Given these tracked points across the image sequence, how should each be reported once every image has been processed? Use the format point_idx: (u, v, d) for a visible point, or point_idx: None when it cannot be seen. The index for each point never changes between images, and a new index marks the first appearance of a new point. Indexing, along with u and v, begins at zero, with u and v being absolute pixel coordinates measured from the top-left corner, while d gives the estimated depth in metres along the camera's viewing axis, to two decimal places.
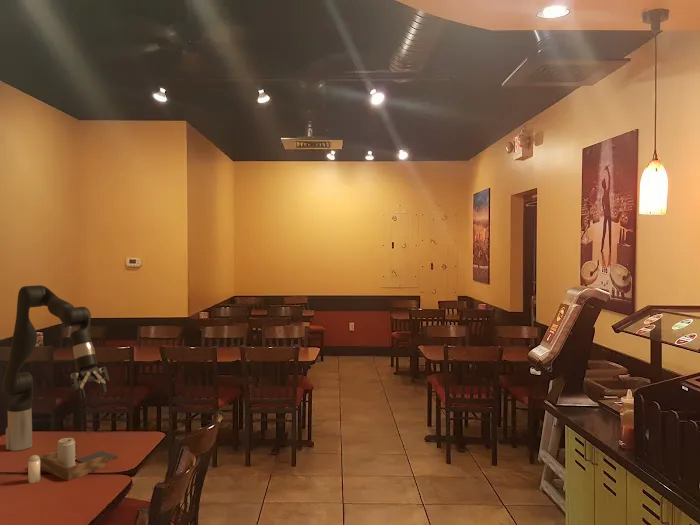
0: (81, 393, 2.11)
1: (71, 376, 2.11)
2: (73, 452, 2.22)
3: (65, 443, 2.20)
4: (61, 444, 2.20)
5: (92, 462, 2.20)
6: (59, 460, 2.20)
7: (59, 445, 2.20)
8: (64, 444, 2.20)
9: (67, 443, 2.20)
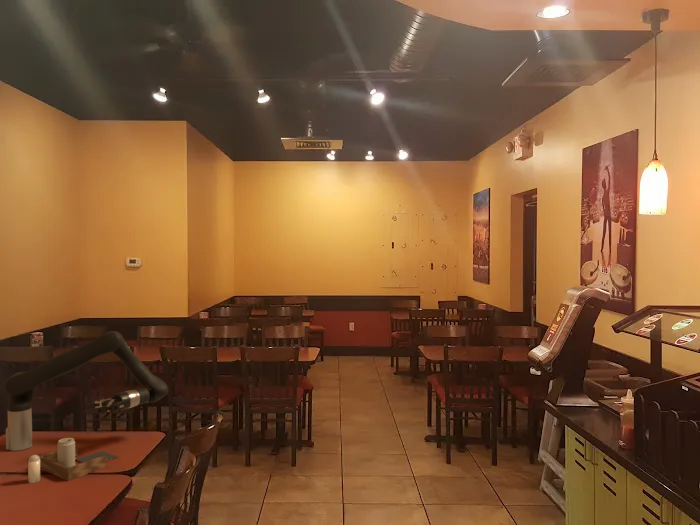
0: (103, 411, 2.31)
1: (121, 405, 2.35)
2: (73, 452, 2.22)
3: (65, 443, 2.20)
4: (61, 444, 2.20)
5: (92, 462, 2.20)
6: (59, 460, 2.20)
7: (59, 445, 2.20)
8: (64, 444, 2.20)
9: (67, 443, 2.20)
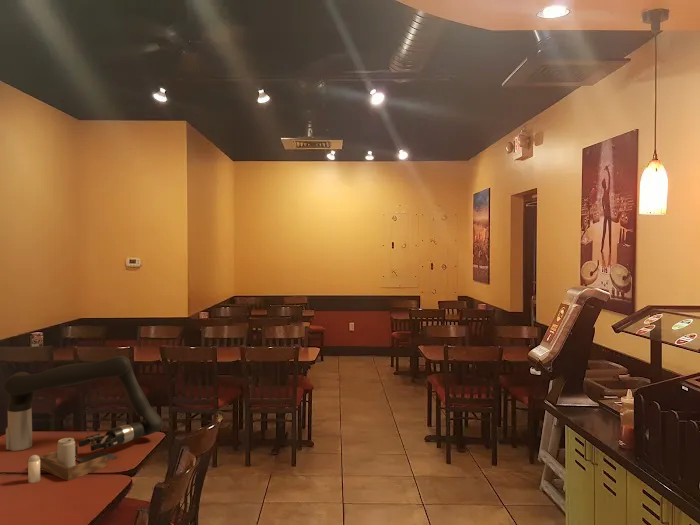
0: (96, 448, 2.28)
1: (115, 442, 2.33)
2: (73, 452, 2.22)
3: (65, 443, 2.20)
4: (61, 444, 2.20)
5: (92, 462, 2.20)
6: (59, 460, 2.20)
7: (59, 445, 2.20)
8: (64, 444, 2.20)
9: (67, 443, 2.20)
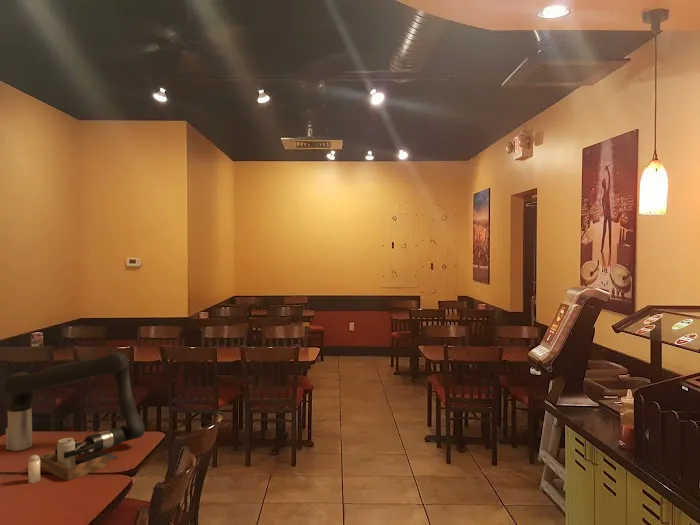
0: (70, 455, 2.20)
1: (91, 450, 2.25)
2: None
3: (65, 443, 2.20)
4: (61, 444, 2.20)
5: (92, 462, 2.20)
6: (59, 460, 2.20)
7: (59, 445, 2.20)
8: (64, 444, 2.20)
9: (67, 443, 2.20)
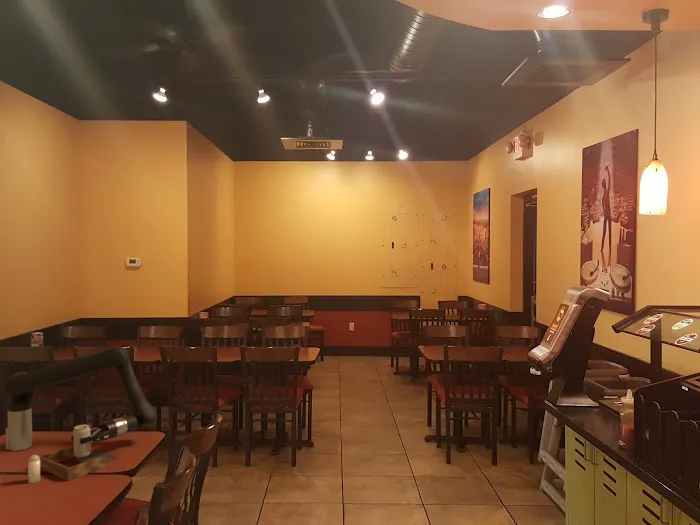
0: (86, 442, 2.26)
1: (106, 436, 2.30)
2: None
3: (81, 430, 2.25)
4: (77, 431, 2.25)
5: (92, 462, 2.20)
6: (76, 446, 2.25)
7: (75, 432, 2.25)
8: (80, 431, 2.25)
9: (83, 430, 2.25)
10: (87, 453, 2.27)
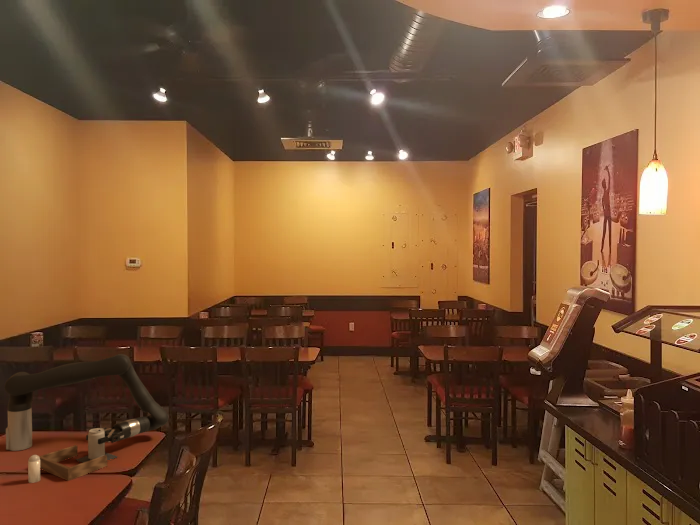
0: None
1: (122, 436, 2.36)
2: None
3: (96, 433, 2.31)
4: (92, 434, 2.31)
5: (92, 462, 2.20)
6: (90, 449, 2.31)
7: (90, 435, 2.31)
8: (95, 434, 2.31)
9: (97, 433, 2.31)
10: (101, 456, 2.32)
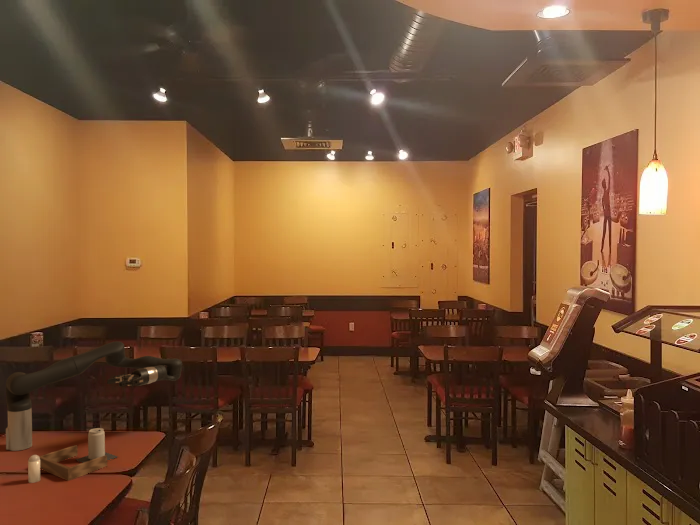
0: None
1: (141, 380, 2.46)
2: (103, 441, 2.33)
3: (96, 433, 2.31)
4: (92, 434, 2.31)
5: (92, 462, 2.20)
6: (90, 449, 2.31)
7: (90, 435, 2.31)
8: (95, 434, 2.31)
9: (97, 433, 2.31)
10: (101, 456, 2.32)
